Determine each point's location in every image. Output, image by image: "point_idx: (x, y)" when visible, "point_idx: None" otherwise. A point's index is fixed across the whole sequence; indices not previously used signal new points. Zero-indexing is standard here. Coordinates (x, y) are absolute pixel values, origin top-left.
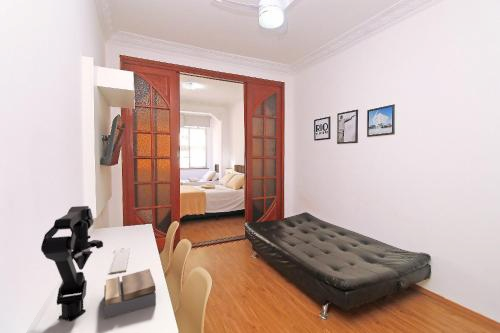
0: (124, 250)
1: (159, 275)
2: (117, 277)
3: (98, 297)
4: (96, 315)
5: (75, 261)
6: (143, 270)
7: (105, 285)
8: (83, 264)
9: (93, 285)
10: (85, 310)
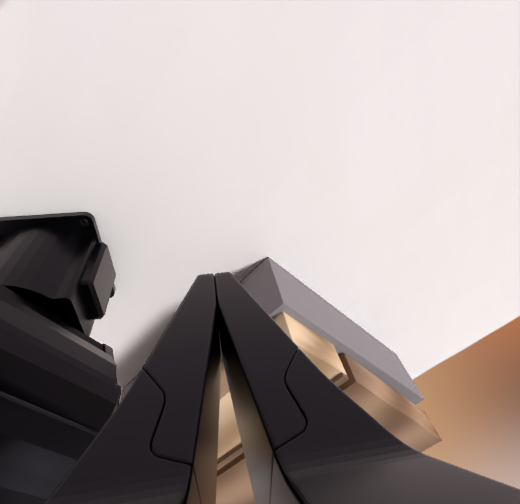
0: None
1: (486, 333)
2: (339, 371)
3: (243, 239)
4: (123, 349)
5: (112, 423)
6: (425, 429)
7: (280, 311)
8: (230, 391)
9: (369, 64)
10: (110, 297)
